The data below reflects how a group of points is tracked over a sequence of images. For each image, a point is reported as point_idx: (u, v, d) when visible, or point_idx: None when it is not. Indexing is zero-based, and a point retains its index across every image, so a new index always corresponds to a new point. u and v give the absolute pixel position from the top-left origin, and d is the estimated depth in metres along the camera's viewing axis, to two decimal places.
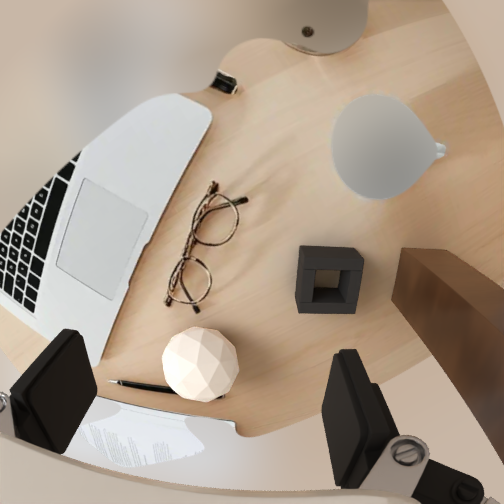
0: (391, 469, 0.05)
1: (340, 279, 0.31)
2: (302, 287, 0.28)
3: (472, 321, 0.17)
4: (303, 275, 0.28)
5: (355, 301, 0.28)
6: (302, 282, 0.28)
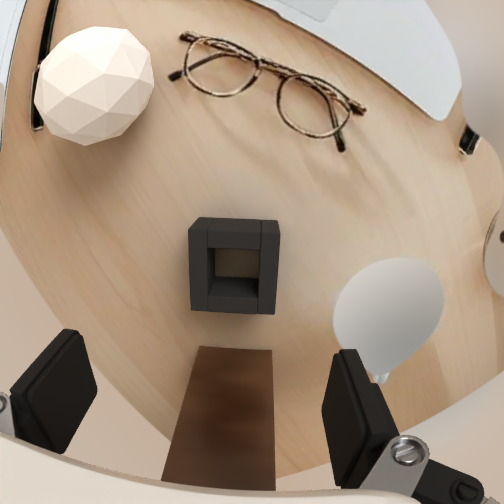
0: (391, 469, 0.05)
1: (229, 279, 0.23)
2: (231, 232, 0.19)
3: None
4: (251, 232, 0.19)
5: (210, 309, 0.21)
6: (239, 231, 0.19)
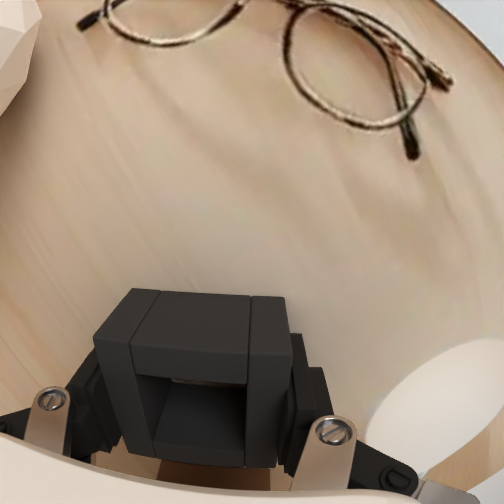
0: (321, 451, 0.06)
1: (196, 392, 0.12)
2: (181, 351, 0.08)
3: None
4: (225, 353, 0.08)
5: (160, 456, 0.09)
6: (199, 350, 0.08)
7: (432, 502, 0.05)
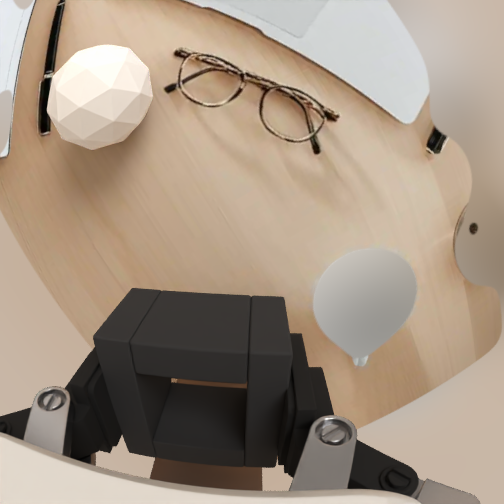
0: (321, 451, 0.06)
1: (196, 392, 0.12)
2: (181, 350, 0.08)
3: None
4: (225, 352, 0.08)
5: (161, 456, 0.09)
6: (199, 349, 0.08)
7: (432, 502, 0.05)
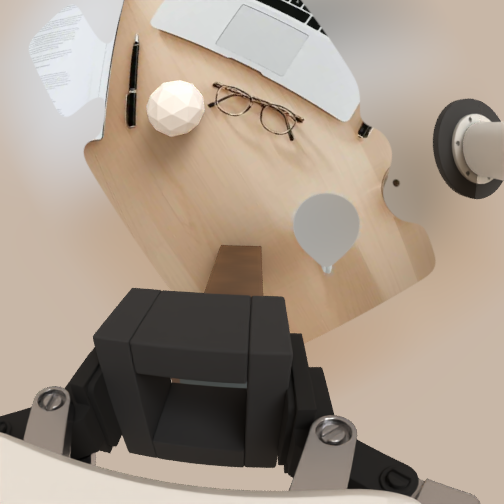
0: (321, 451, 0.06)
1: (196, 392, 0.12)
2: (181, 350, 0.08)
3: (254, 282, 0.35)
4: (225, 352, 0.08)
5: (160, 456, 0.09)
6: (199, 349, 0.08)
7: (432, 502, 0.05)
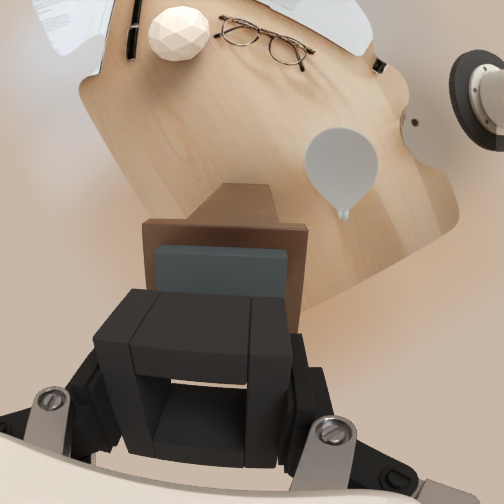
0: (321, 451, 0.06)
1: (196, 393, 0.12)
2: (181, 351, 0.08)
3: (262, 200, 0.29)
4: (225, 354, 0.08)
5: (160, 457, 0.09)
6: (199, 350, 0.08)
7: (432, 502, 0.05)
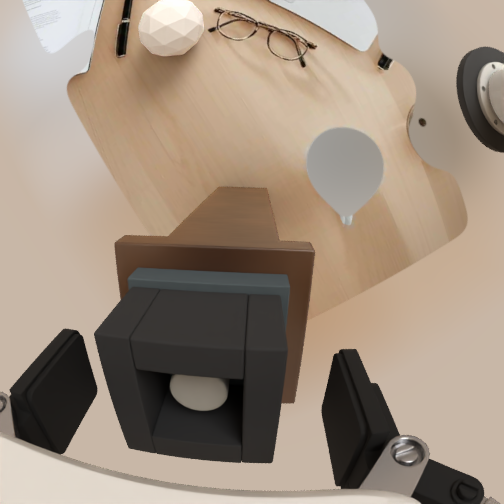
0: (391, 469, 0.05)
1: None
2: (180, 346, 0.08)
3: (260, 207, 0.26)
4: (222, 349, 0.08)
5: (159, 451, 0.10)
6: (197, 345, 0.08)
7: None
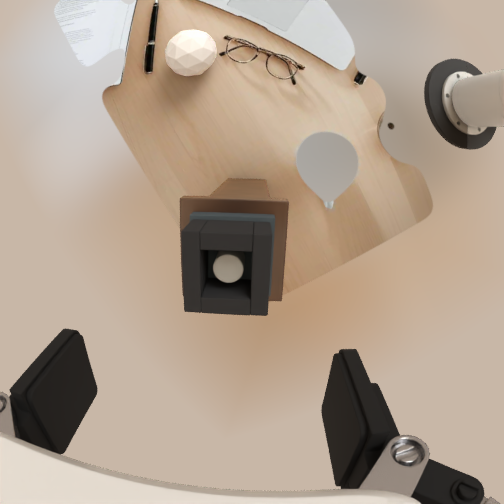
0: (391, 469, 0.05)
1: None
2: (224, 234, 0.19)
3: (260, 189, 0.37)
4: (243, 234, 0.19)
5: (203, 310, 0.21)
6: (231, 233, 0.19)
7: None
